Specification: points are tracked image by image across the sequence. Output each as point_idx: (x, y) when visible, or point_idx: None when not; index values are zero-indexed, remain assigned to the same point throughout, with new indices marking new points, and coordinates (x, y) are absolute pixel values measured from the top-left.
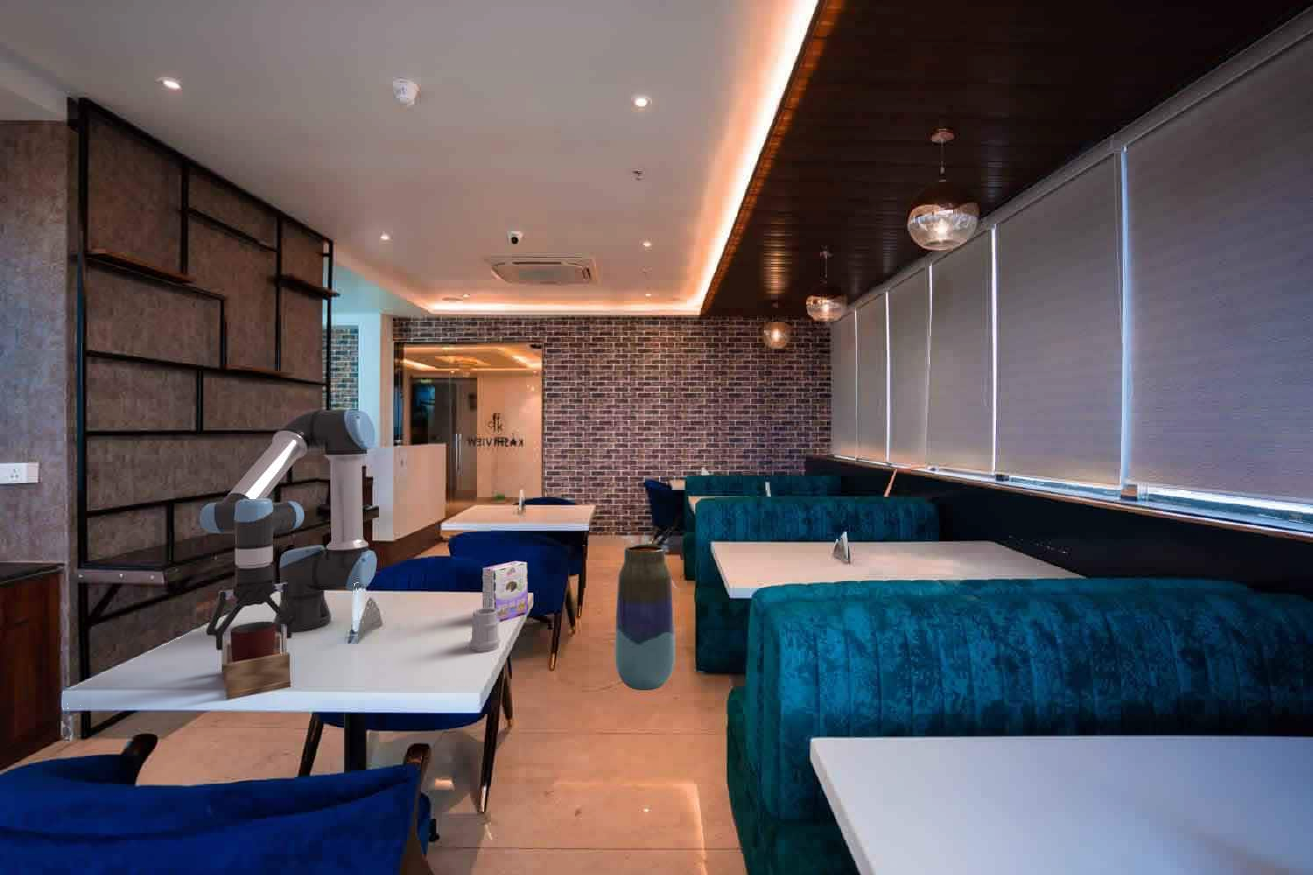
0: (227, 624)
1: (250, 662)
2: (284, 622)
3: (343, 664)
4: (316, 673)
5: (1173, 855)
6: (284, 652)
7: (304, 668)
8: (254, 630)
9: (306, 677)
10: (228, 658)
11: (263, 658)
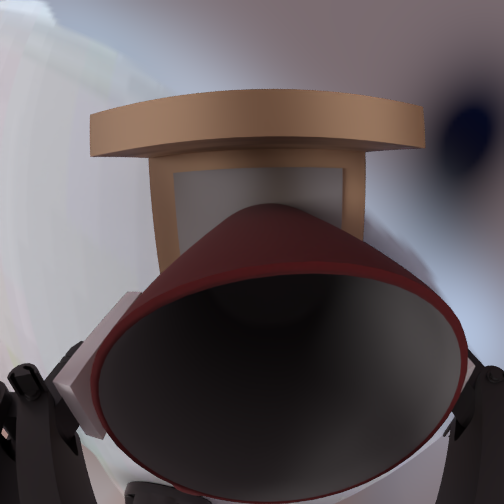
0: (494, 435)
1: (308, 91)
2: (49, 409)
3: (30, 252)
4: (79, 213)
5: None
6: (132, 294)
7: (113, 288)
8: (261, 460)
9: (104, 189)
10: None
11: (230, 100)
